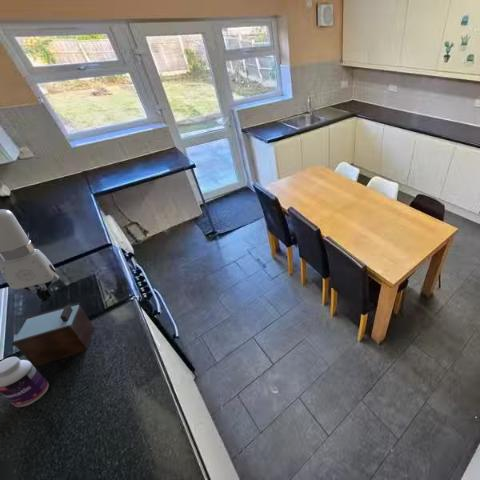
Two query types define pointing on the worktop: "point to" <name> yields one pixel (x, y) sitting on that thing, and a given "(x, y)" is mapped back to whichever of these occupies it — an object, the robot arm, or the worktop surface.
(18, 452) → the worktop surface
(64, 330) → the display box
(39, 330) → the glass lid
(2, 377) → the pill bottle
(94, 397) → the worktop surface
